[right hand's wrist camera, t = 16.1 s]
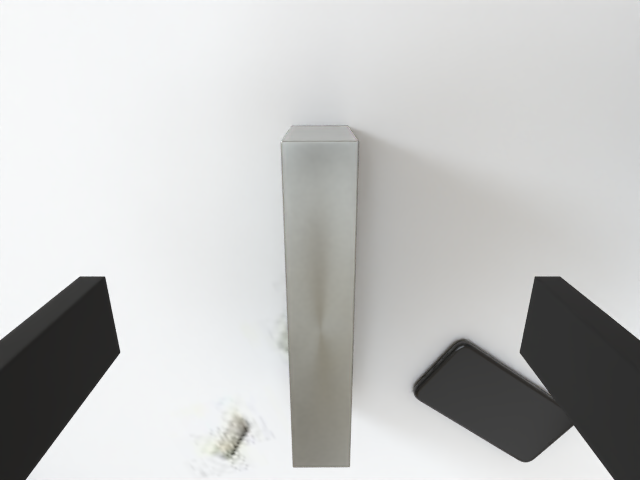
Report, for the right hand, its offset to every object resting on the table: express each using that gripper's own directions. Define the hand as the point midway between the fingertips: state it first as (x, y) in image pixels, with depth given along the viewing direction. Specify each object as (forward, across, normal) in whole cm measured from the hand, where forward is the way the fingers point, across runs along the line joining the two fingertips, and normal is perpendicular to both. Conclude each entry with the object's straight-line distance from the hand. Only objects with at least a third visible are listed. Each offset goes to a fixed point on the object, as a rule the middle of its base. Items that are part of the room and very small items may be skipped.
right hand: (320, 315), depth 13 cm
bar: (+22, 0, -9) cm, 24 cm away
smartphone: (+22, +18, -23) cm, 37 cm away
